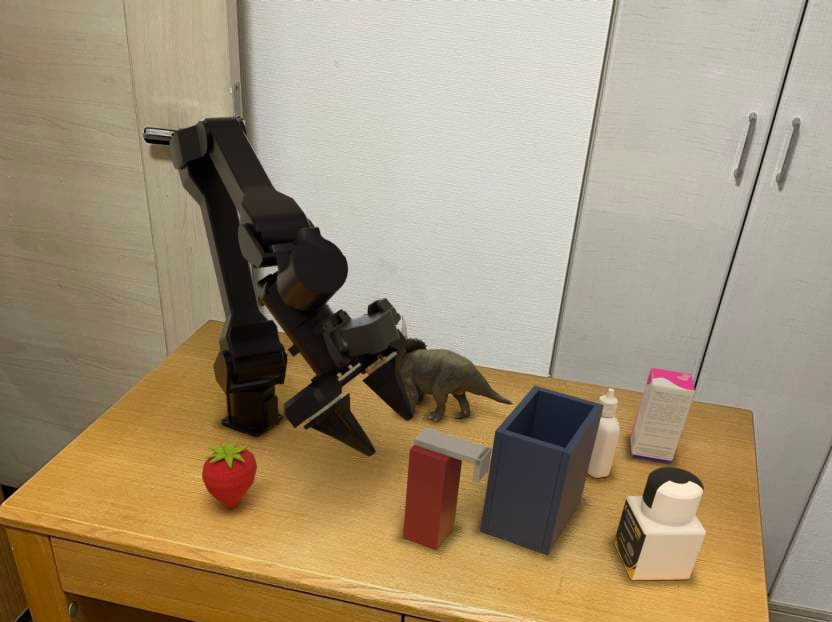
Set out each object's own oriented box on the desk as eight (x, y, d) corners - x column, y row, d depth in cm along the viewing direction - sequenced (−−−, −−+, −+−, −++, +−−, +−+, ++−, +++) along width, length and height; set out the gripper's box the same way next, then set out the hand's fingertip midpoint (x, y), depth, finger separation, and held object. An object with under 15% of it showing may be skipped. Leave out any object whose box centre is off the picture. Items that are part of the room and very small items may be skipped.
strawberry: (269, 497, 101) (266, 428, 95) (236, 530, 95) (230, 459, 89) (229, 484, 103) (223, 416, 96) (194, 515, 97) (185, 445, 91)
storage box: (479, 531, 98) (495, 430, 89) (517, 480, 107) (534, 385, 98) (548, 555, 95) (570, 453, 86) (580, 501, 104) (604, 404, 95)
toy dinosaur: (513, 423, 119) (524, 353, 112) (486, 447, 113) (497, 375, 106) (389, 380, 127) (392, 312, 120) (358, 400, 122) (360, 330, 115)
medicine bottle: (612, 542, 98) (636, 459, 90) (668, 542, 98) (696, 459, 91) (630, 581, 92) (657, 496, 85) (689, 580, 93) (721, 496, 85)
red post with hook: (402, 537, 96) (409, 442, 88) (421, 516, 100) (429, 423, 91) (464, 560, 93) (477, 464, 85) (480, 537, 97) (495, 443, 89)
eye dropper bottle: (607, 459, 113) (627, 382, 105) (608, 481, 108) (629, 402, 101) (576, 454, 113) (593, 377, 106) (576, 476, 109) (594, 397, 101)
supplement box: (672, 464, 112) (696, 391, 105) (630, 458, 113) (650, 385, 106) (670, 443, 117) (692, 372, 110) (629, 437, 118) (648, 366, 110)
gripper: (305, 311, 76) (401, 444, 79) (396, 256, 90) (476, 372, 93) (243, 366, 84) (333, 485, 87) (336, 308, 97) (411, 413, 100)
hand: (392, 436), depth 92 cm, fingers open, 9 cm apart
